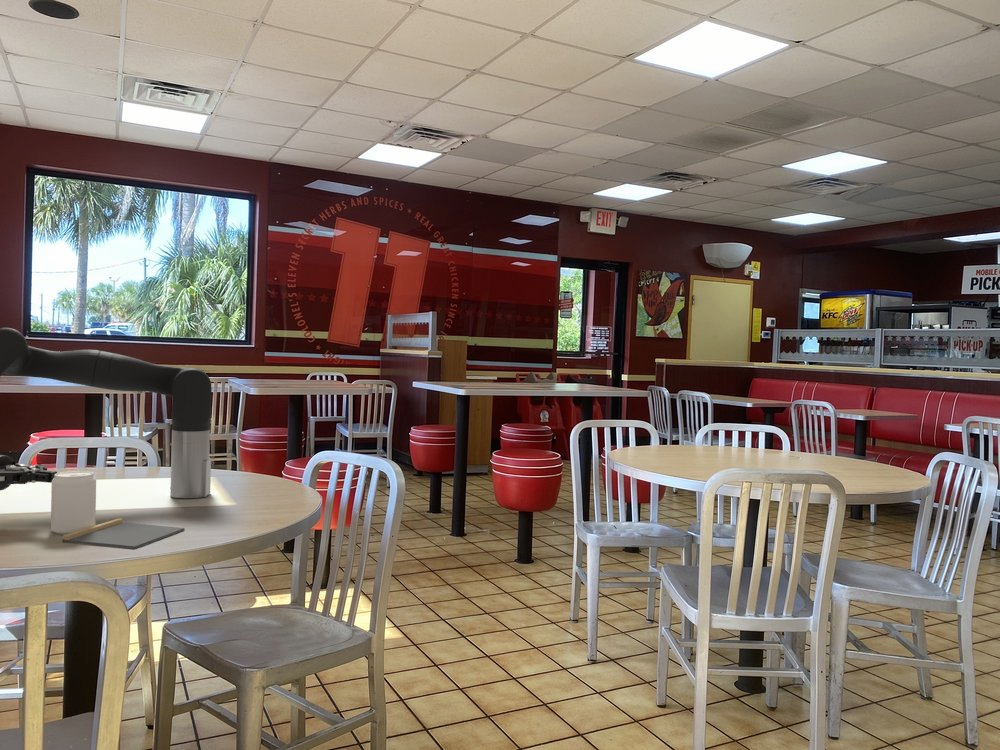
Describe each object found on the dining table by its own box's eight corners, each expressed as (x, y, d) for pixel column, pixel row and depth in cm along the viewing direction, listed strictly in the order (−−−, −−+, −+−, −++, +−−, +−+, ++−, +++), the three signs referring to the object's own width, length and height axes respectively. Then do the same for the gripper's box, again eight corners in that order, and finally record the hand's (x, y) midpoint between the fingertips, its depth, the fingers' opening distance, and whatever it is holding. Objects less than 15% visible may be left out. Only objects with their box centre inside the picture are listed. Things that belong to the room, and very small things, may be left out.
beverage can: (62, 526, 163) (63, 470, 162) (102, 526, 163) (103, 471, 163) (42, 535, 155) (43, 476, 154) (84, 536, 155) (85, 477, 155)
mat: (62, 541, 150) (62, 535, 150) (118, 524, 166) (118, 518, 166) (134, 548, 147) (134, 542, 147) (184, 530, 163) (184, 524, 163)
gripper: (-43, 458, 156) (29, 463, 153) (10, 450, 169) (78, 455, 166) (-44, 494, 157) (29, 500, 153) (9, 483, 170) (77, 489, 166)
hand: (54, 477), depth 160 cm, fingers closed
